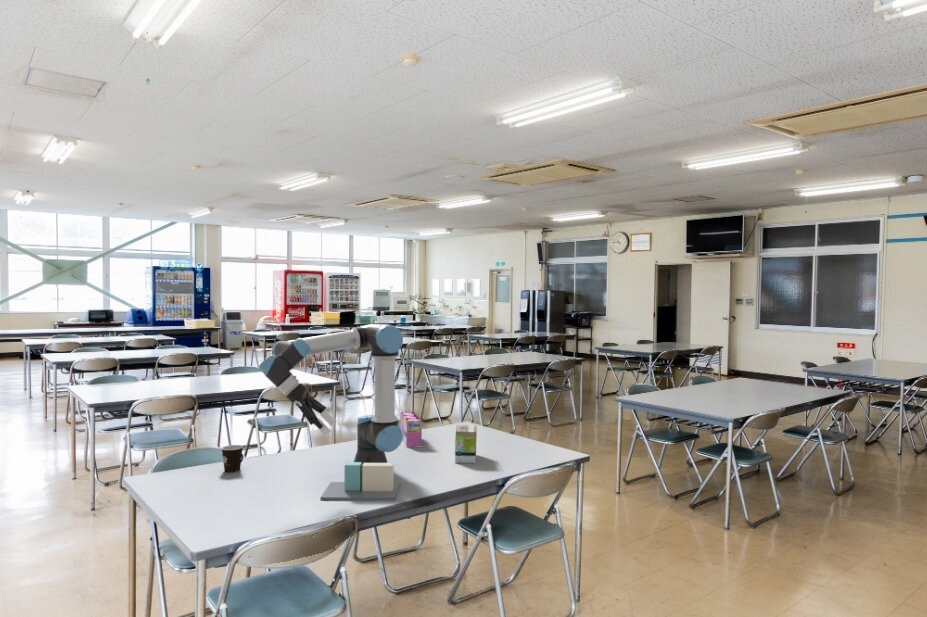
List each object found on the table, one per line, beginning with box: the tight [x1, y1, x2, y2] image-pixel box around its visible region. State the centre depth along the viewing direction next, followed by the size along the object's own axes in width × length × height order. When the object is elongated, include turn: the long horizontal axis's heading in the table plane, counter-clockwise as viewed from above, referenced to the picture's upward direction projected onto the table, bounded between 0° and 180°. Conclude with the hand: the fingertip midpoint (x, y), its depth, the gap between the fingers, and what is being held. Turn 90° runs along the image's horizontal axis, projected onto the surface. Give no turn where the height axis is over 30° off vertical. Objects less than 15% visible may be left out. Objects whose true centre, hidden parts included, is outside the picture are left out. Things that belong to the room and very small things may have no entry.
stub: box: [344, 461, 362, 491], centre depth 232 cm, size 6×4×10 cm, turn 91°
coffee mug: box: [221, 444, 244, 473], centre depth 257 cm, size 12×9×10 cm
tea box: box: [454, 424, 478, 464], centre depth 280 cm, size 15×10×15 cm, turn 179°
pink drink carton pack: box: [400, 411, 423, 448], centre depth 312 cm, size 24×8×14 cm, turn 15°
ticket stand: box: [320, 462, 400, 501], centre depth 232 cm, size 28×18×11 cm, turn 91°
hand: (331, 428), depth 230 cm, fingers open, 13 cm apart
